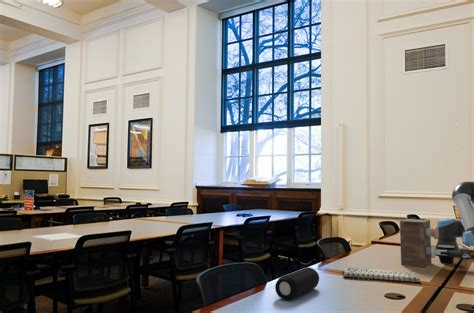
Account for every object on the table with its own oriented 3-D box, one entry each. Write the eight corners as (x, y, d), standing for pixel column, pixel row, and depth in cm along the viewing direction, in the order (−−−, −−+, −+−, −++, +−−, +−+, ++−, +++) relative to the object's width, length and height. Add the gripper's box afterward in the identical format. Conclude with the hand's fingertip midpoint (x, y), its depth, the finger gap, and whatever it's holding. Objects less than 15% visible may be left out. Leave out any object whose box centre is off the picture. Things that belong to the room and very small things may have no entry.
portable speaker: (302, 286, 186) (301, 265, 186) (321, 289, 180) (320, 267, 180) (273, 299, 166) (273, 275, 166) (293, 303, 159) (293, 278, 160)
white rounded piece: (414, 254, 236) (414, 242, 237) (436, 257, 229) (435, 244, 229) (411, 256, 231) (410, 244, 231) (433, 258, 223) (432, 246, 224)
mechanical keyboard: (416, 276, 205) (416, 269, 205) (422, 286, 187) (422, 279, 187) (342, 272, 216) (342, 266, 216) (341, 281, 198) (341, 274, 198)
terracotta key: (417, 236, 236) (416, 224, 236) (438, 238, 228) (438, 226, 229) (413, 238, 230) (413, 225, 231) (436, 239, 223) (435, 227, 223)
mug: (452, 265, 228) (451, 248, 229) (436, 263, 235) (435, 246, 235) (458, 262, 237) (458, 245, 237) (443, 260, 243) (442, 243, 244)
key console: (408, 260, 242) (407, 218, 244) (431, 263, 234) (430, 220, 236) (401, 265, 230) (399, 220, 231) (424, 268, 222) (423, 222, 223)
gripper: (481, 265, 206) (432, 260, 221) (484, 261, 216) (437, 256, 231) (480, 251, 206) (432, 246, 221) (483, 247, 217) (437, 243, 231)
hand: (434, 251), depth 226 cm, fingers closed
